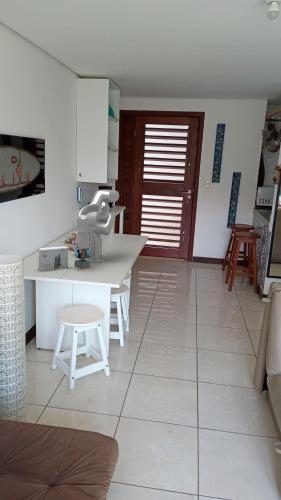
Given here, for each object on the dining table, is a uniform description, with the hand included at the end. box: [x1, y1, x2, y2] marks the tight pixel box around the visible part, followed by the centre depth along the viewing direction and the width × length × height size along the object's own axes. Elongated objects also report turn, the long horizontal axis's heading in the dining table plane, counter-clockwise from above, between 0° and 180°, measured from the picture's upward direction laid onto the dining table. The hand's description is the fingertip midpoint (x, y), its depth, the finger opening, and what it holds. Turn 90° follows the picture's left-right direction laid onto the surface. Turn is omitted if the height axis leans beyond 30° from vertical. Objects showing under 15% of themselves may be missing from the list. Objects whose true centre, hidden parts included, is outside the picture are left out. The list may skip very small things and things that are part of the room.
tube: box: [72, 258, 93, 272], centre depth 283 cm, size 11×11×5 cm
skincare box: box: [37, 245, 69, 272], centre depth 275 cm, size 21×6×16 cm, turn 126°
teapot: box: [71, 243, 90, 259], centre depth 314 cm, size 15×15×10 cm
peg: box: [78, 249, 86, 260], centre depth 281 cm, size 4×4×7 cm
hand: (82, 257), depth 281 cm, fingers closed on peg, 4 cm apart
